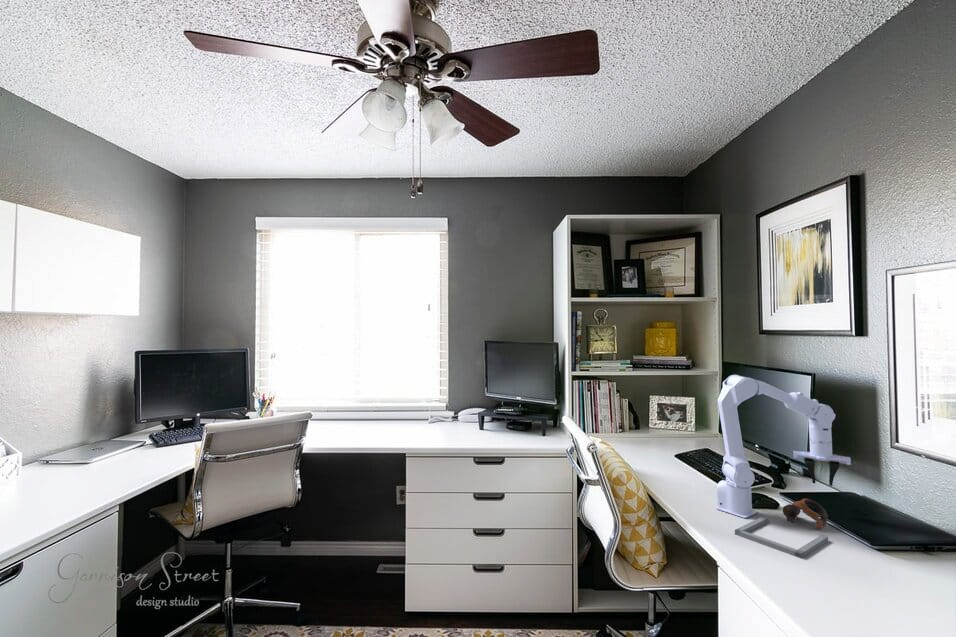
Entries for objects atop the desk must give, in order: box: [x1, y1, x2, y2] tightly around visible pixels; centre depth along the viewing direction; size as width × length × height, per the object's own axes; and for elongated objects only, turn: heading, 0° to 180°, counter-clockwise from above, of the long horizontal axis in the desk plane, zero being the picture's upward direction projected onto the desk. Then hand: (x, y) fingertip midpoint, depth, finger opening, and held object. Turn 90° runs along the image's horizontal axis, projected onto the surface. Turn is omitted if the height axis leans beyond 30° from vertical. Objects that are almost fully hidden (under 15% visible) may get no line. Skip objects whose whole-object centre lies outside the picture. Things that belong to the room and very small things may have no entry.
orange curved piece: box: [782, 498, 829, 531], centre depth 137 cm, size 12×10×8 cm
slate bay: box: [734, 515, 829, 559], centre depth 129 cm, size 17×16×1 cm
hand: (822, 483), depth 145 cm, fingers open, 4 cm apart
